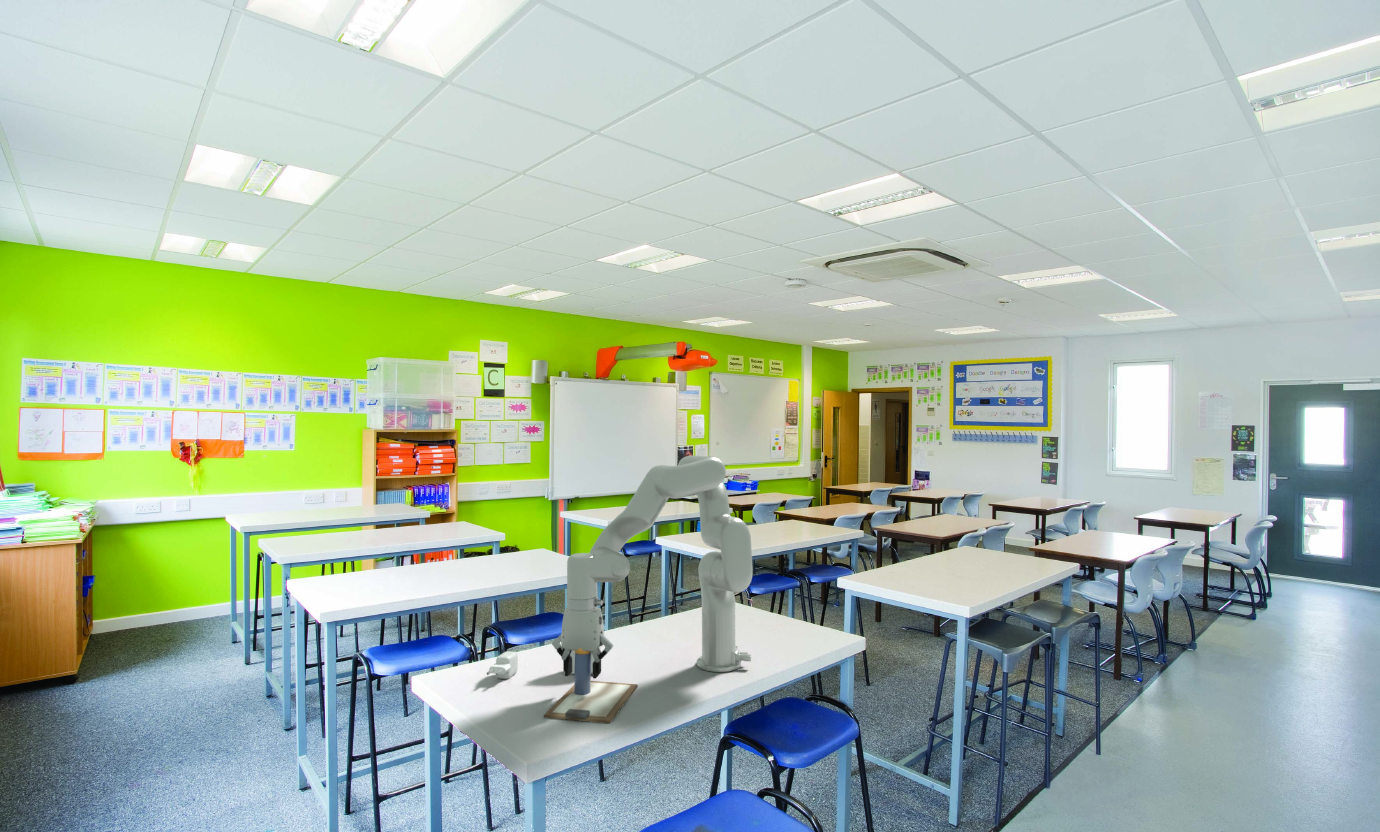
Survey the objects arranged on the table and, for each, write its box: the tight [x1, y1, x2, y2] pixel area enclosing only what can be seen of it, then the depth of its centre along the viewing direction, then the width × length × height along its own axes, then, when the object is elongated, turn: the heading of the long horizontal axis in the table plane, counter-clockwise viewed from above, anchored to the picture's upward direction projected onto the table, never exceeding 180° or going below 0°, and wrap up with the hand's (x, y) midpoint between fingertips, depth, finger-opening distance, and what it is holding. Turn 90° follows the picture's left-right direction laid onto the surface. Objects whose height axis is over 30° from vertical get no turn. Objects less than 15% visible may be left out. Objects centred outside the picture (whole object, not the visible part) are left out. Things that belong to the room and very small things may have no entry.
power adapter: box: [486, 650, 519, 680], centre depth 175 cm, size 11×5×6 cm, turn 168°
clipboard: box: [543, 680, 638, 724], centre depth 160 cm, size 16×22×2 cm
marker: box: [574, 648, 592, 695], centre depth 164 cm, size 4×4×12 cm
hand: (582, 674), depth 164 cm, fingers open, 6 cm apart
